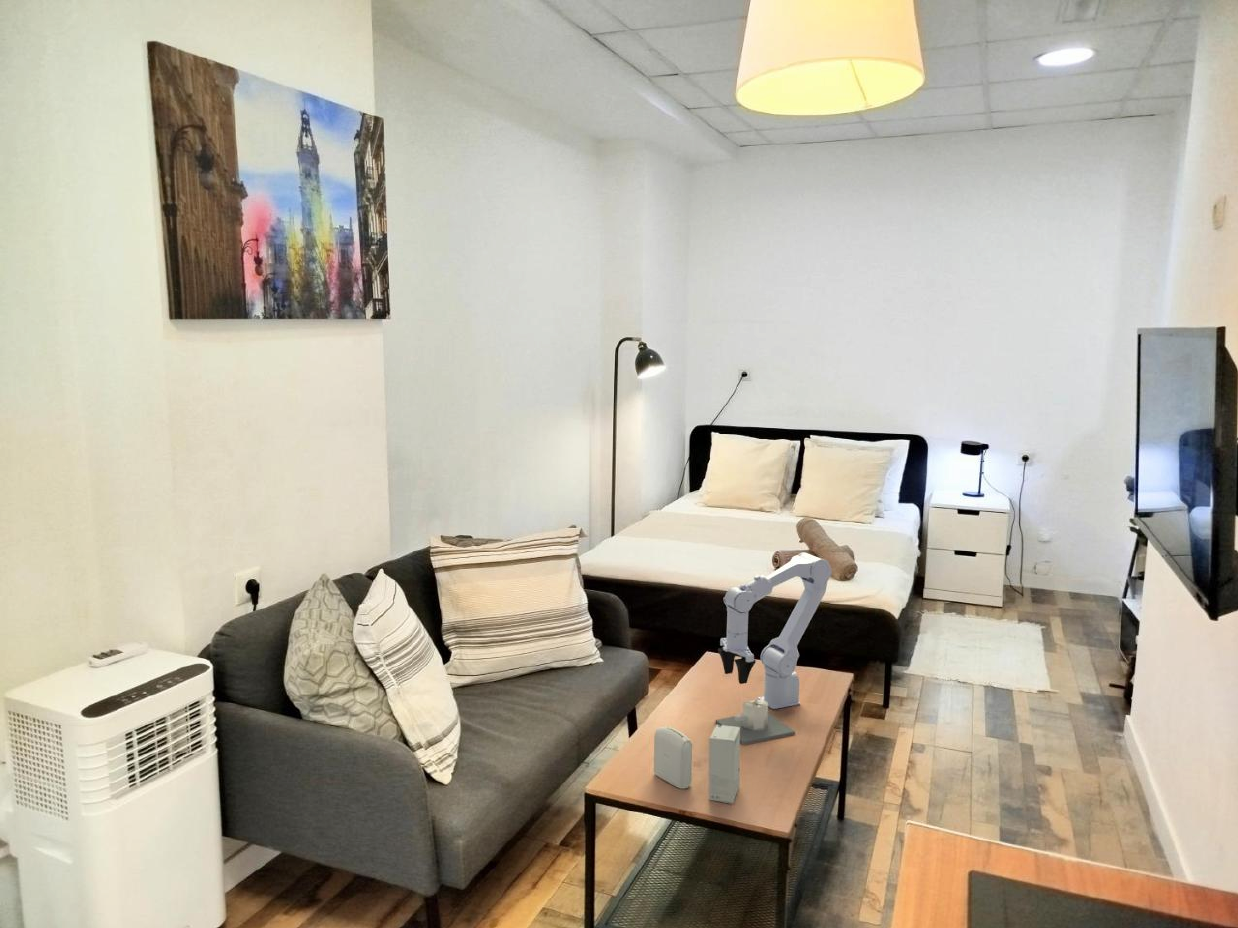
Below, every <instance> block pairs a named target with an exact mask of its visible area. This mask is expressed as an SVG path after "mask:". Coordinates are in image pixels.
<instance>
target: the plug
mask: <svg viewBox="0 0 1238 928" xmlns="http://www.w3.org/2000/svg"><path fill="white" fill-rule="evenodd" d="M768 709H769V706H768V702H766V701H764V700H759V699H755V700H750V701H745V702H743V703H742V712H741V713H736V714H735V713H734V715H733V716H734V719H736V720H737V721H742V720H743V722H742V726H743V727H744V728H746V729H757V728H763V727H766V726H767V716H768V712H769V710H768Z"/></svg>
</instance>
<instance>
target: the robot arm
mask: <svg viewBox="0 0 1238 928" xmlns="http://www.w3.org/2000/svg"><path fill="white" fill-rule="evenodd" d="M832 574H833V571H832V567H831V565H830V562H829V561H828V560H827V559H824V558H820V557H817V556H815V555H813V554H810V553H808V552H804V551H803V552H800V553H798V554H797V555H793V556H792V557H791V560H790V561H789V562H787V563H785V564H784V565H782V566H780V567H779V568H777V569H776V570H774V571H773V572H772V573H770V574H769V575H767V576H766V575H762V574H760V575H758V574H757V575H755V576H754V577H753V578H752V579H751V580H749V581H747V582H745V583H742V584H740V585H739V587H735V586H734V587H731V588H729V589H728V590H727V591H726V593H725V596H724V597H723V603H724V604H725V606H726V611H727V614H726V615H727V616H726V637H721V638H720V641H719V643H720V644H719V645H720V646H721V647H719V648H718V649H717V652H718V654H719V656H720V659H721V662H722V666H723V671H724V674H725V675H728V674H729V675H730V674H733V671H734V665H736V668H737V678H738V679H737V680H738V684H740V685H744V684H747V683H748V679H749V676H750V674H751V671H752V668H753V667H754V666H755V664H756V662H757V661H756V659H755V655H754V653H752V652H751V650H750V648H749V646H748V631H749V630H748V629H749V625H748V624H749V611H750V610H751V609H752V608H753V605H754V604H756V602H758V601H760V600H761V599H763V598H765V597H767V596H768V595H770V594H772V592H773V588H775V587H777V586H778V585H780V584H783V583H785V582H788V581H789V580H791V579H793V578H796V577H797V578H800V579H801V581H802V583H803V587H804V590H803V591H802V593H801V595H800V598H799V599H798V601H797V602H796V605H795V607H794V609H793V610H792V611H791V614H790V616H789V618H788V620H787V622H786V624H785V625H784V627H783V629H782V630H781V633H780V634H779V636H778V637H775V638H772V639H771V640H770V642H769V643H768V645H767V646H765V647H764V648H763V649H762V651H761V653H760V661H761V664H762V665H763V666H764V667H763V669H764V685H763V686H764V689H763V693H764V694H763V696H758V697H757V700H764V701H766V702H768V708H770V709H772V710H776V709H782V708H788V707H790V706H791V707H792V706H797V705H801V702H800V700H799V699H800V698H799V697H800V678H799V675H798V673H797V672H796V671H795V670H796V668H797V662H798V659H799V657H800V653H799V651H798V645H799V643H800V640H801V639H802V636H803V635H804V633H805V631H806V629H807V628H808V626H809V624H810V621H811V620H812V618H813V616H814V614H815V613H816V611H817V609H818V607H819V605H820V603H821V601H822V600H823V598H824V596H825V593H827V588H828V586H827V585H828V581H829V580H830V578H831V576H832ZM737 655H738V656H739V657H740V658H737V659H735V658H736V656H737Z"/></svg>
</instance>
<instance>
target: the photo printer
mask: <svg viewBox="0 0 1238 928" xmlns="http://www.w3.org/2000/svg"><path fill="white" fill-rule="evenodd" d="M653 739H654V742H653V750H654V753H653V755H654V756H653V760H654V761H653V766H654V767H653V772H654V774H655V775H656V776H657V777H658V778H660V779H662V780H663V781H665V782H667V783H668V784H671V785H672V786H673V787H676V788H678V789H683V790H684V789H687V788H689V787H690V786H691V784H692V779H693V778H692V777H693V776H692V774H693V773H692V769H693V763H692V762H693V744H692V741H691V740H690V739H689V737H688V736H686V735H685V734H684V733H682V732H681V731H680V730H678V729H676V728H673V727H670V726H666V725H665V726H664V725H663V726H660V727H657V729H656V730H655V732H654V738H653Z"/></svg>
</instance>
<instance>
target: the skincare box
mask: <svg viewBox="0 0 1238 928" xmlns="http://www.w3.org/2000/svg"><path fill="white" fill-rule="evenodd" d="M740 747H741V746H740V727H734V726H725V725H718V724H716V725H715V726H714V729H712V733H711V735H710V736H709V739H708V800H709V801H716V802H721V803H725V804H730V805H733V804H734V803H735V797H736V796H737V793H738V791H739V789H740V762H741V761H740V758H741V757H740V754H741V753H740V752H741V748H740Z"/></svg>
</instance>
